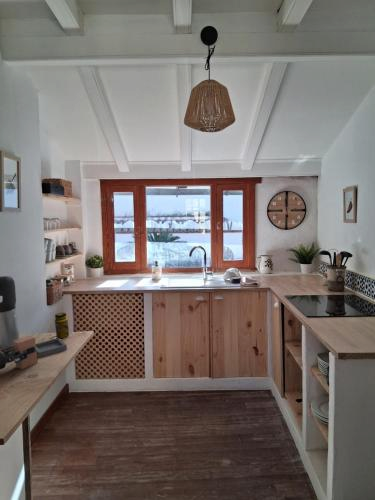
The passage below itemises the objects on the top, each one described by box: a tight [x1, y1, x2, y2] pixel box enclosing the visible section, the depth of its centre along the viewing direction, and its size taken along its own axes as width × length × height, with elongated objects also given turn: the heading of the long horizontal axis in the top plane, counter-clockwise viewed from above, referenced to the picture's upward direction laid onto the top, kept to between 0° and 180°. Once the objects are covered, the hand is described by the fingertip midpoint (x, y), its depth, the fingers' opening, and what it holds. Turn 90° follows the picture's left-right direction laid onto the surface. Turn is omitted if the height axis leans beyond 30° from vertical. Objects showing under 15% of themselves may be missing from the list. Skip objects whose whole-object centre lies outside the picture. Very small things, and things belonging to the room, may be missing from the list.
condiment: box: [50, 312, 73, 340], centre depth 183 cm, size 7×8×12 cm
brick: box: [13, 335, 39, 370], centre depth 153 cm, size 4×7×11 cm, turn 141°
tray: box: [36, 338, 68, 358], centre depth 168 cm, size 12×12×2 cm
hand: (31, 348), depth 155 cm, fingers closed on brick, 4 cm apart
